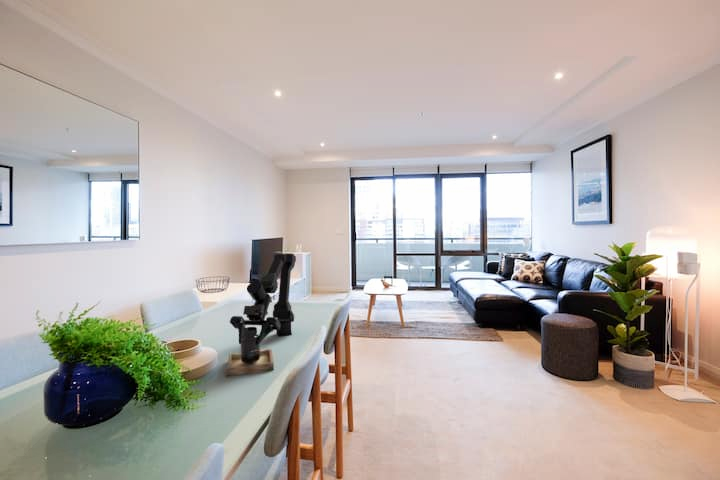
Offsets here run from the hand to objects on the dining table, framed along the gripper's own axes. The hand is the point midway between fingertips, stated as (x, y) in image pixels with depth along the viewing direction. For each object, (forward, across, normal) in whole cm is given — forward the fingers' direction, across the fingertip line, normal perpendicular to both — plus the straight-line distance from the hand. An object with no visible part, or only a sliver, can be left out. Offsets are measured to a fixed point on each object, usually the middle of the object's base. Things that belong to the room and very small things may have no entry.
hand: (248, 344), depth 116 cm
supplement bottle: (+4, 0, +6) cm, 7 cm away
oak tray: (+5, 0, +7) cm, 9 cm away
